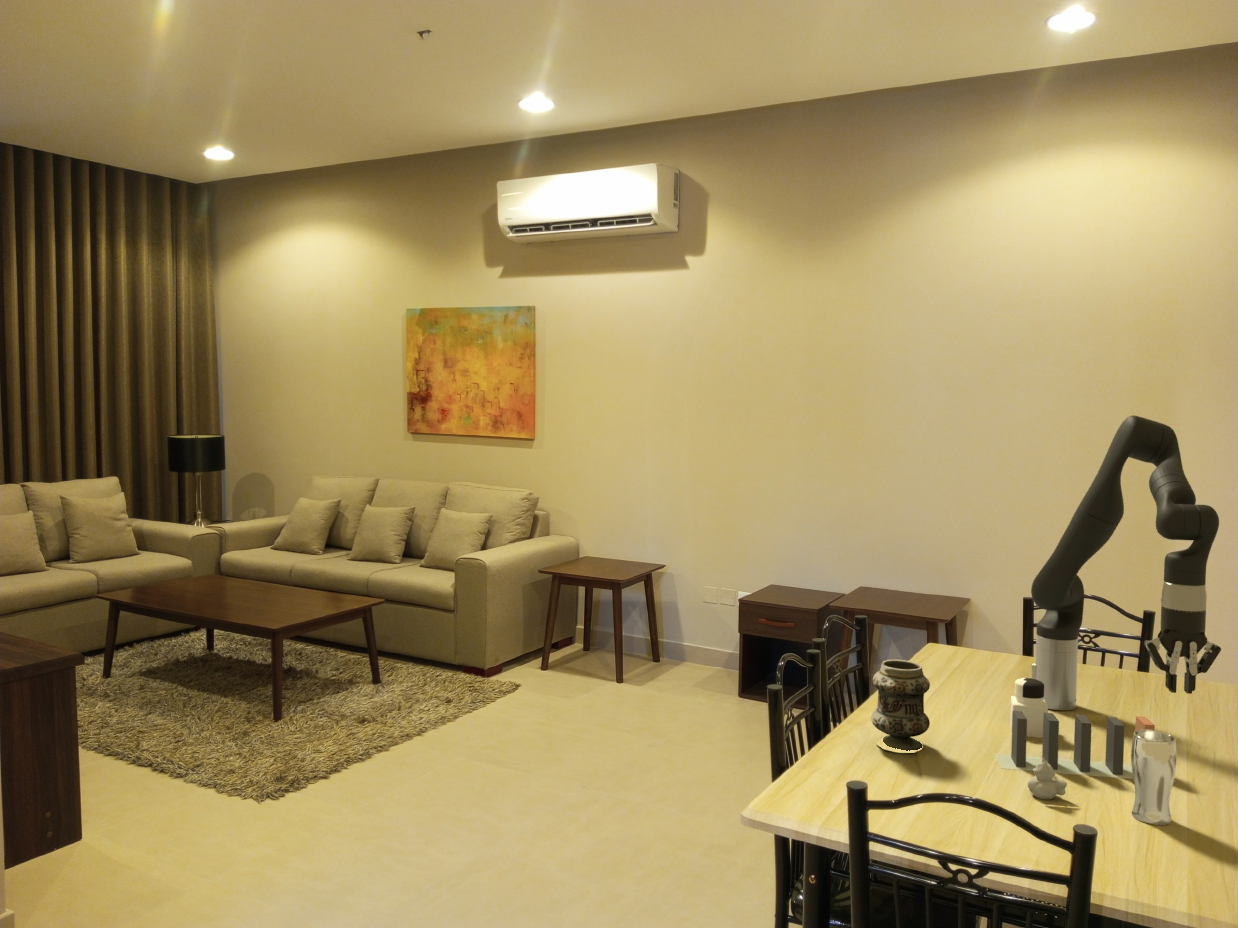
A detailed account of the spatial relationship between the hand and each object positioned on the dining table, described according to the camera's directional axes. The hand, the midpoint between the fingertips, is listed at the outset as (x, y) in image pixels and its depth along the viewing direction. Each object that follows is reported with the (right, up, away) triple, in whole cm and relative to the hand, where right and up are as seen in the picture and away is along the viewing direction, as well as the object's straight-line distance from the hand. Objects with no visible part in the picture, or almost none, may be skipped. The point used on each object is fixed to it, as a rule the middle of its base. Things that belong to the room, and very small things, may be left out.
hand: (1180, 691), depth 183 cm
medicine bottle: (-19, -16, +26) cm, 35 cm away
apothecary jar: (-50, -16, +17) cm, 56 cm away
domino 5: (-5, -17, +4) cm, 18 cm away
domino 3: (-17, -16, +5) cm, 24 cm away
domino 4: (-11, -17, +4) cm, 20 cm away
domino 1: (-29, -16, +7) cm, 34 cm away
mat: (-17, -17, +5) cm, 24 cm away
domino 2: (-23, -16, +6) cm, 29 cm away
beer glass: (-16, -18, -17) cm, 30 cm away
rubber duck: (-31, -18, -9) cm, 37 cm away
